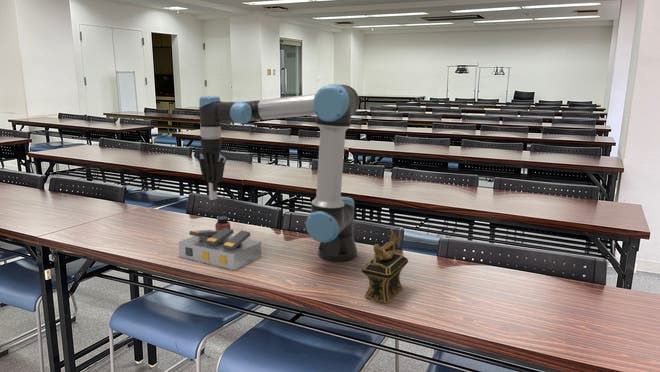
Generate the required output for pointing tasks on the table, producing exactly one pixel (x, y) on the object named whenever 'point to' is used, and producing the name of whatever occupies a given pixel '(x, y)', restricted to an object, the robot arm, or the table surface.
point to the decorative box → (385, 271)
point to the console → (220, 252)
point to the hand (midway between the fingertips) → (213, 198)
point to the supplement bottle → (222, 224)
